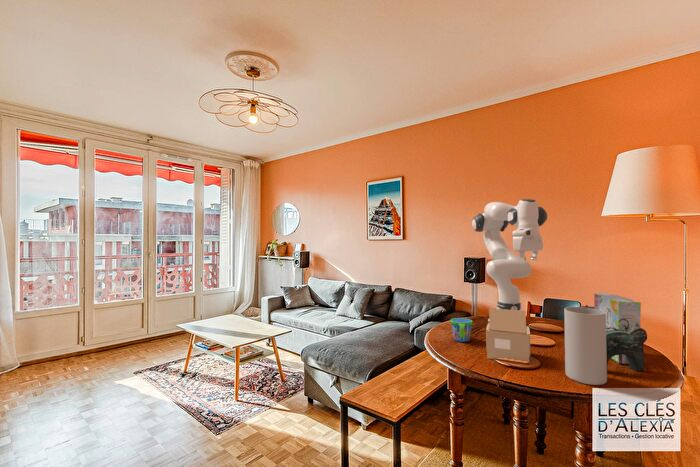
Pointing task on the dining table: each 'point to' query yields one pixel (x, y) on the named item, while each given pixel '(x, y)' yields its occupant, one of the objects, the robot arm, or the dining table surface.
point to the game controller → (627, 345)
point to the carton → (508, 344)
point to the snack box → (618, 314)
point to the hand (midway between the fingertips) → (528, 260)
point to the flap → (507, 320)
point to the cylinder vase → (585, 345)
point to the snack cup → (461, 329)
